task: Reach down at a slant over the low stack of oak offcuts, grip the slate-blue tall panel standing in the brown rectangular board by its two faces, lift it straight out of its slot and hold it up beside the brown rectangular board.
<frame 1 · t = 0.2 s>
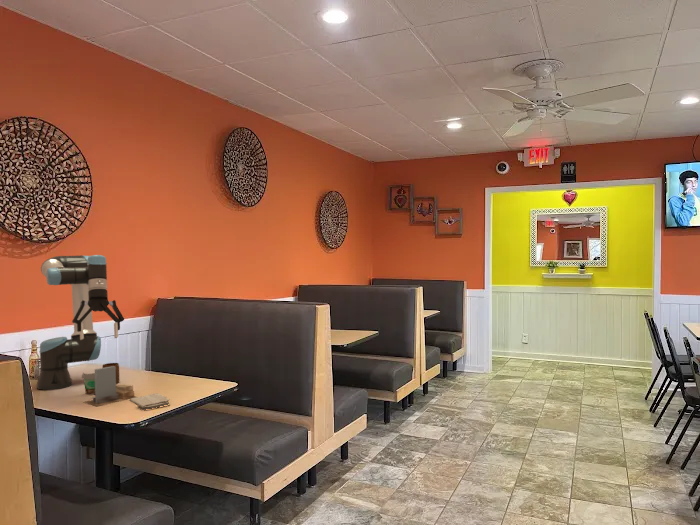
hand: (99, 338, 223), 28 cm above the table, tool tilted 15°, fingers open, 13 cm apart
washcloth: (149, 405, 221), on the table
food container: (96, 395, 238), on the table
brown rectangular board: (106, 403, 224), on the table
mug: (112, 384, 259), on the table
offcut stack: (124, 396, 230), point 1 cm above the table, touching brown rectangular board
tall panel: (106, 400, 224), point 1 cm above the table, touching brown rectangular board
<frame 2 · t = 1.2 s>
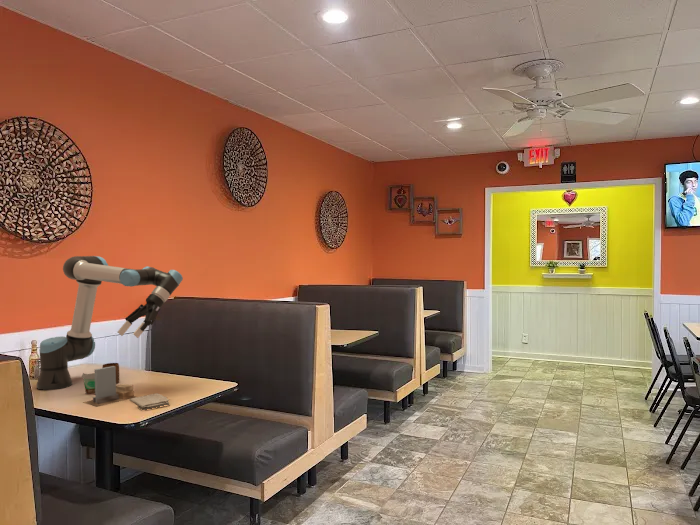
hand: (127, 335, 231), 28 cm above the table, tool tilted 45°, fingers open, 13 cm apart
nothing on the table moved.
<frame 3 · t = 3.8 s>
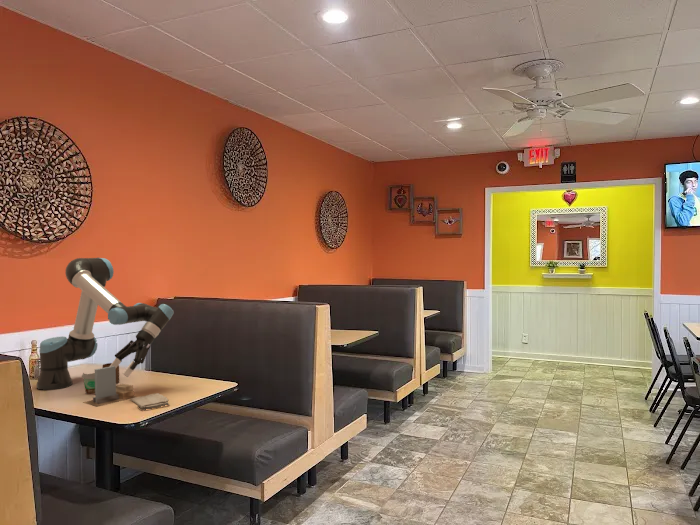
hand: (117, 373, 226), 12 cm above the table, tool tilted 45°, fingers open, 13 cm apart
nothing on the table moved.
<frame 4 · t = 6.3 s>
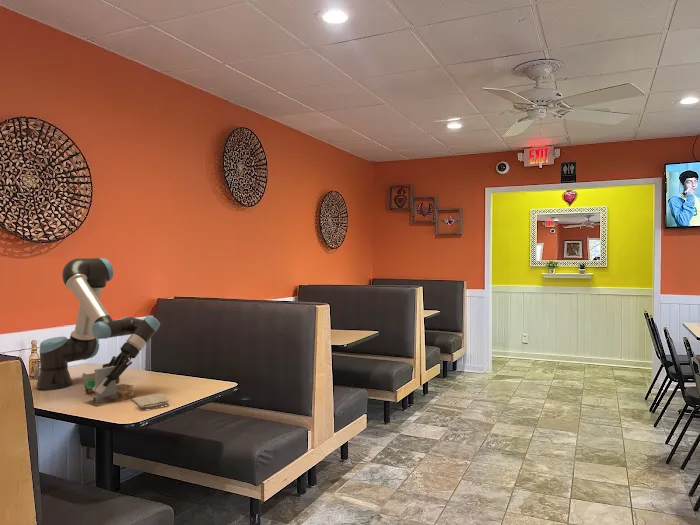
hand: (96, 391, 220), 6 cm above the table, tool tilted 45°, fingers closed on tall panel, 2 cm apart
tall panel: (106, 400, 224), point 1 cm above the table, touching gripper, brown rectangular board
everything else where it was.
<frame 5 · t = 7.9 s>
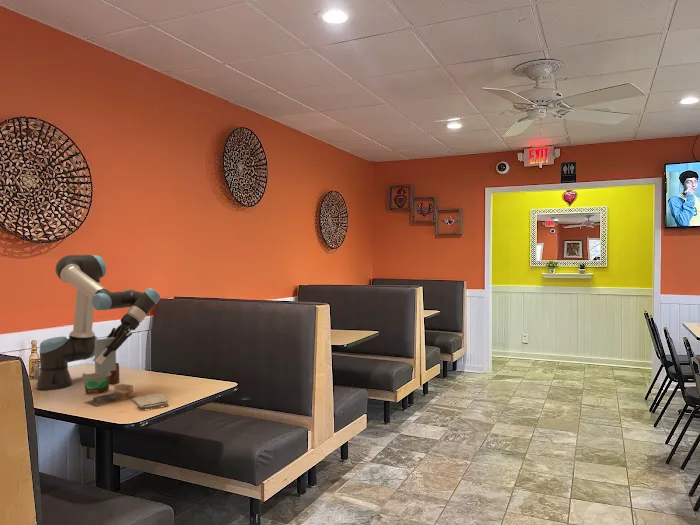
hand: (96, 362, 220), 18 cm above the table, tool tilted 45°, fingers closed on tall panel, 2 cm apart
tall panel: (105, 371, 223), point 14 cm above the table, touching gripper
everything else where it was.
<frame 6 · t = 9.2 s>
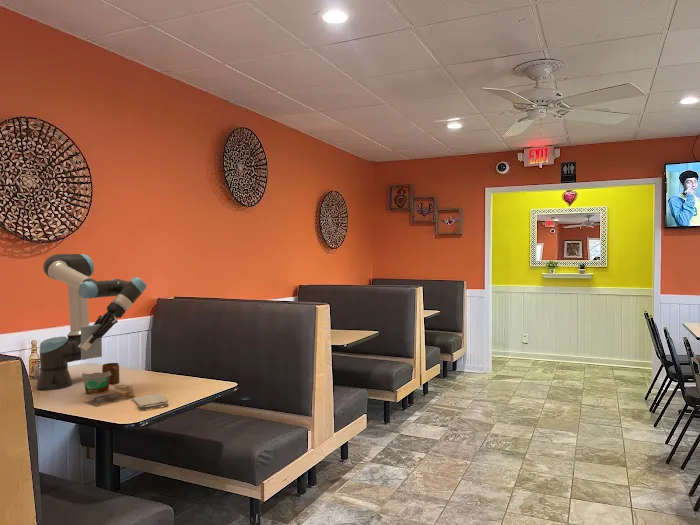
hand: (82, 348, 225), 23 cm above the table, tool tilted 45°, fingers closed on tall panel, 2 cm apart
tall panel: (91, 357, 228), point 19 cm above the table, touching gripper
everything else where it was.
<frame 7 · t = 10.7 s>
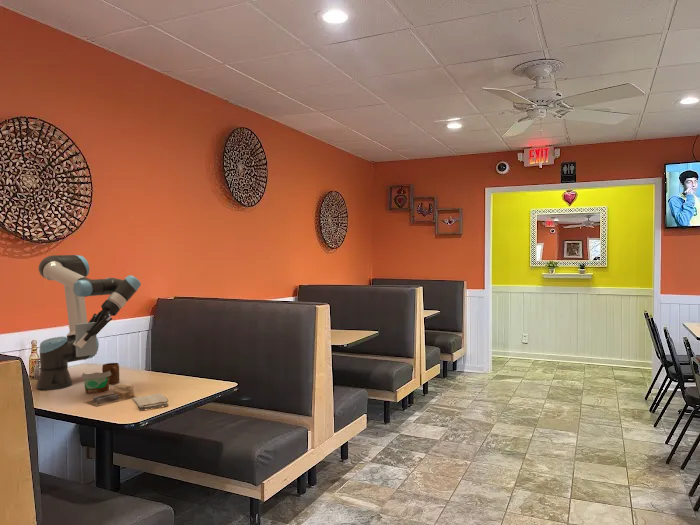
hand: (77, 346, 227), 24 cm above the table, tool tilted 45°, fingers closed on tall panel, 2 cm apart
tall panel: (86, 355, 230), point 19 cm above the table, touching gripper
everything else where it was.
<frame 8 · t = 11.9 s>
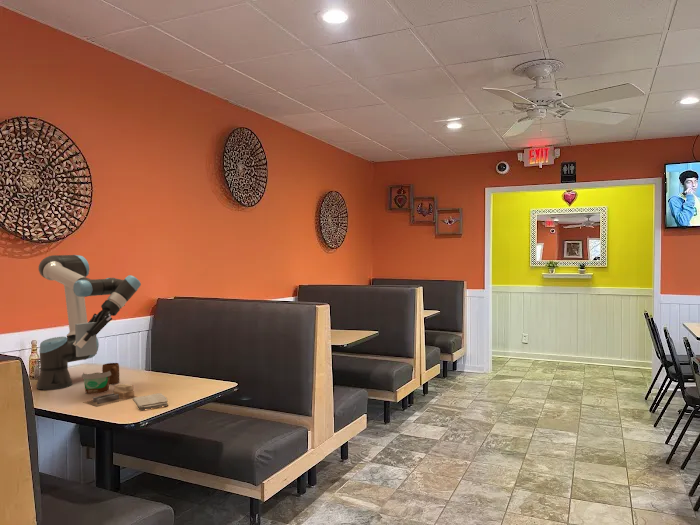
hand: (77, 346, 227), 24 cm above the table, tool tilted 45°, fingers closed on tall panel, 2 cm apart
tall panel: (86, 355, 230), point 19 cm above the table, touching gripper
everything else where it was.
at the end: the gripper is holding tall panel; tall panel point 19.5 cm above the table; offcut stack moved 0.0 cm from its start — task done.
